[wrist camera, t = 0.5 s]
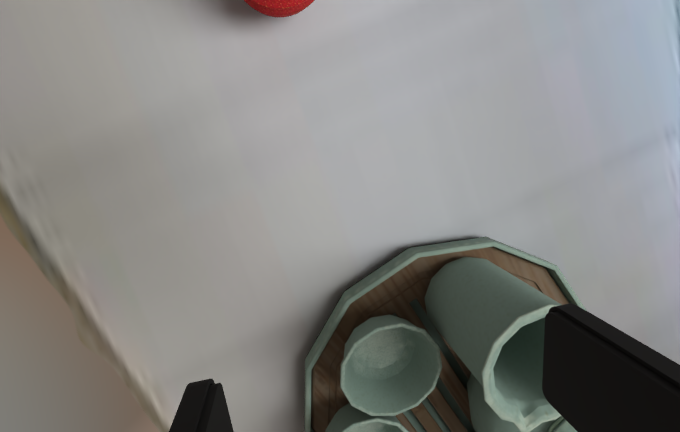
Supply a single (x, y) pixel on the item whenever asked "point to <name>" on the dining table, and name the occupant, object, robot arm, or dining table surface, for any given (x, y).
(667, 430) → the robot arm
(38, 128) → the dining table surface
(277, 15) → the strawberry
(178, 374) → the dining table surface
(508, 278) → the tea set
